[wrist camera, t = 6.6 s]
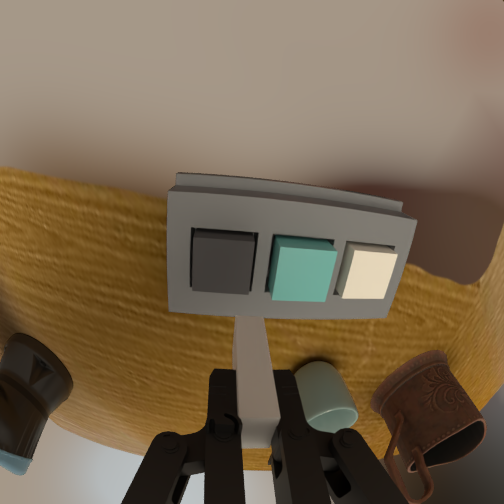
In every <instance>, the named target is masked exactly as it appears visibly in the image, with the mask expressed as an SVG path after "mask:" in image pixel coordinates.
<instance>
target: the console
mask: <svg viewBox="0 0 504 504" xmlns="http://www.w3.org/2000/svg"><path fill="white" fill-rule="evenodd" d="M402 204H403V202H401V201H398V200H394V199H389V198H385V197H380V196H375V195H370V194H364V193H358V192H353V191H347V190H341V189H335V188H329V187H322V186H316V185H309V184H301V183H294V182H286V181H277V180H269V179H261V178H250V177H240V176H229V175H228V176H227V175H215V174H201V173H182V172H178V173H176V185H175V186H174V187H172V188H171V189H170V190H169V191H168V201H167V281H168V305H169V312H179V313H190V314H202V315H216V316H232V317H236V315H239V316H260V317H263V318H276V319H368V318H386V317H387V314H388V312H389V309H390V307H391V304H392V301H393V299H394V296H395V293H396V290H397V287H398V285H399V282H400V279H401V276H402V273H403V270H404V267H405V263H406V260H407V257H408V253H409V250H410V246H411V243H412V239H413V235H414V231H415V228H416V224H417V220H416V219H414V218H412V217H410V216H408V215H406V214H404V213H402V212H401V209H402ZM197 228H207V229H221V230H234V231H246V232H253V236H254V240H255V246H254V255H253V263H252V271H251V279H250V287H249V295H242V294H226V293H212V292H199V291H192V266H193V237H194V234H195V232H196V229H197ZM275 235H283V236H295V237H306V238H316V239H327V240H328V242H329V243H330V244H331V245H332V246H333V247H334V248H335V249H336V250H337V251H338V252H337V257H336V261H335V265H334V269H333V273H332V277H331V281H330V285H329V289H328V293H327V296H326V300H325V302H308V301H279V300H272V299H271V295H270V291H269V287H268V278H269V271H270V265H271V258H272V251H273V245H274V238H275ZM346 241H355V242H364V243H374V244H383V245H386V246H388V247H389V248H390V249H392V250H393V251H394V252H396V253H397V254H398V256H397V259H396V262H395V266H394V269H393V272H392V275H391V278H390V281H389V284H388V287H387V290H386V293H385V296H384V299H343V298H341V297H340V295H339V293H338V292H337V290H336V289H335V285H336V281H337V277H338V274H339V270H340V266H341V262H342V258H343V253H344V249H345V245H346Z"/></svg>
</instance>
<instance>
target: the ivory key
mask: <svg viewBox="0 0 504 504" xmlns="http://www.w3.org/2000/svg"><path fill="white" fill-rule="evenodd" d="M397 256H398V254H397V253H396V252H394V251H393V250H392V249H390V248H389V247H388V246H386V245H383V244H374V243H364V242H355V241H346V245H345V249H344V253H343V258H342V262H341V266H340V270H339V274H338V277H337V281H336V285H335V289H336V290H337V292H338V293H339V295H340V297H341V298H343V299H384V296H385V293H386V290H387V287H388V284H389V281H390V278H391V275H392V272H393V269H394V266H395V262H396V259H397Z"/></svg>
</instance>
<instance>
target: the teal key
mask: <svg viewBox="0 0 504 504" xmlns="http://www.w3.org/2000/svg"><path fill="white" fill-rule="evenodd" d="M337 252H338V251H337V250H336V249H335V248H334V247H333V246H332V245H331V244H330V243H329V242H328V240H327V239H316V238H306V237H295V236H283V235H275V238H274V245H273V251H272V258H271V265H270V271H269V278H268V287H269V291H270V295H271V299H272V300H279V301H308V302H325V300H326V296H327V293H328V289H329V285H330V281H331V277H332V273H333V269H334V265H335V261H336V257H337Z"/></svg>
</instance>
